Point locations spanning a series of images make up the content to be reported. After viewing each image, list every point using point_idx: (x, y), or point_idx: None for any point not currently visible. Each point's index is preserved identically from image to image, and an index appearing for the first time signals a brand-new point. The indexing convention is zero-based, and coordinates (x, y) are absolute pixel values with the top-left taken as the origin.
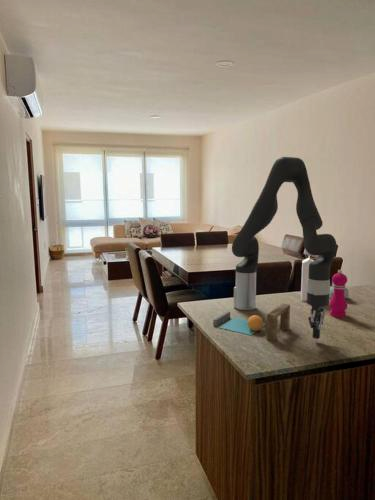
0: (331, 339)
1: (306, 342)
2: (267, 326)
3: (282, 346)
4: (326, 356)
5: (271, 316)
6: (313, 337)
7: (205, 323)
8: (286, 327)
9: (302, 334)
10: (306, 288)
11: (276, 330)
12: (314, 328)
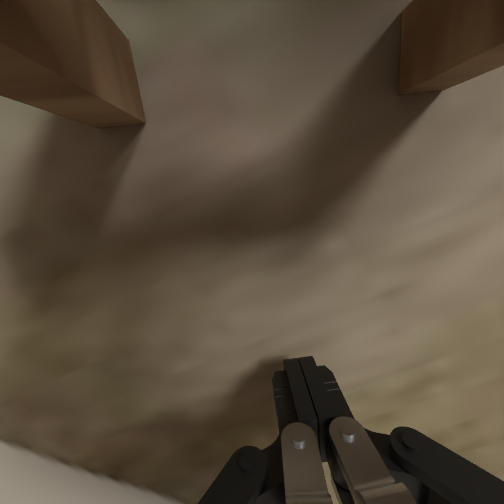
0: (382, 396)
1: (247, 314)
2: None
3: (65, 224)
4: (143, 454)
5: None
6: (284, 364)
7: None
8: (413, 75)
9: (369, 236)
10: None
11: (83, 101)
12: (272, 453)
